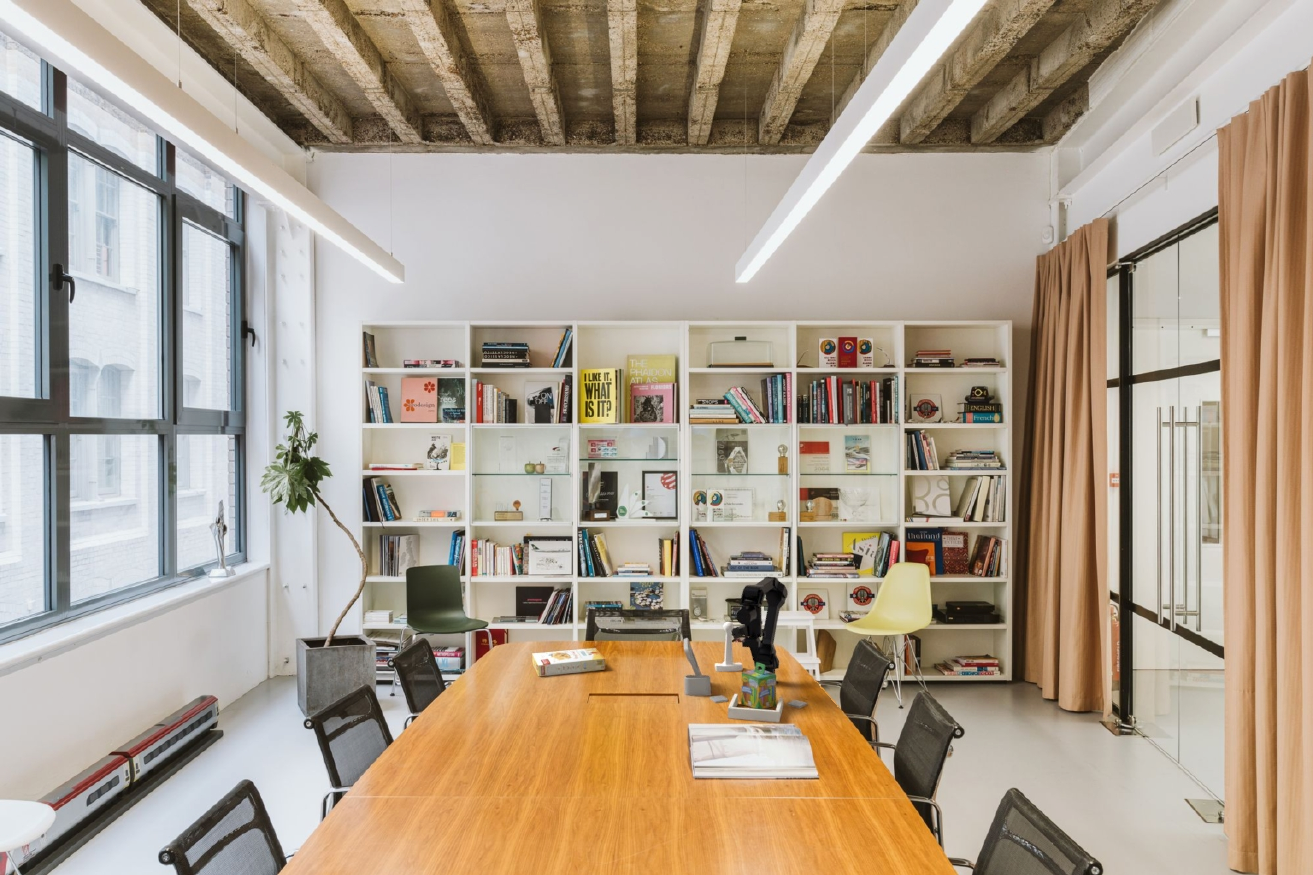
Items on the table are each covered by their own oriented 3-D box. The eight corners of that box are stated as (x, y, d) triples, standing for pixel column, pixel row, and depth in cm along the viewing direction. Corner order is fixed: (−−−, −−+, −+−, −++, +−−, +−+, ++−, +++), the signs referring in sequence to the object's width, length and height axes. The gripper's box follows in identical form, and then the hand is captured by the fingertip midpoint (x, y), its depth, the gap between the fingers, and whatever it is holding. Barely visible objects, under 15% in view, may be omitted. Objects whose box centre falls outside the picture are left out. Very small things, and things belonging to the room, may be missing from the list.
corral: (734, 703, 278) (734, 693, 278) (783, 707, 274) (783, 697, 274) (727, 718, 263) (727, 707, 263) (779, 722, 259) (779, 711, 259)
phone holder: (711, 695, 287) (710, 647, 287) (684, 695, 287) (683, 647, 287) (709, 681, 304) (709, 635, 304) (684, 681, 304) (683, 635, 304)
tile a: (795, 702, 280) (795, 699, 280) (807, 706, 276) (807, 702, 276) (787, 706, 276) (787, 703, 276) (799, 709, 272) (799, 706, 272)
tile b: (722, 698, 285) (722, 695, 285) (727, 702, 280) (727, 699, 280) (709, 700, 283) (709, 696, 284) (715, 704, 279) (715, 700, 279)
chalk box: (740, 704, 277) (740, 663, 277) (758, 699, 283) (758, 658, 283) (759, 711, 270) (758, 669, 270) (777, 705, 275) (776, 664, 275)
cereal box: (606, 657, 319) (538, 663, 311) (606, 671, 319) (538, 677, 311) (595, 646, 339) (531, 651, 330) (595, 659, 339) (531, 664, 330)
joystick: (716, 671, 316) (715, 623, 316) (713, 666, 324) (713, 619, 324) (743, 671, 317) (742, 622, 317) (739, 665, 324) (739, 618, 324)
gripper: (737, 613, 301) (738, 653, 301) (728, 623, 283) (728, 666, 283) (765, 614, 298) (766, 654, 298) (758, 625, 280) (759, 668, 280)
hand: (754, 660), depth 290 cm, fingers closed
